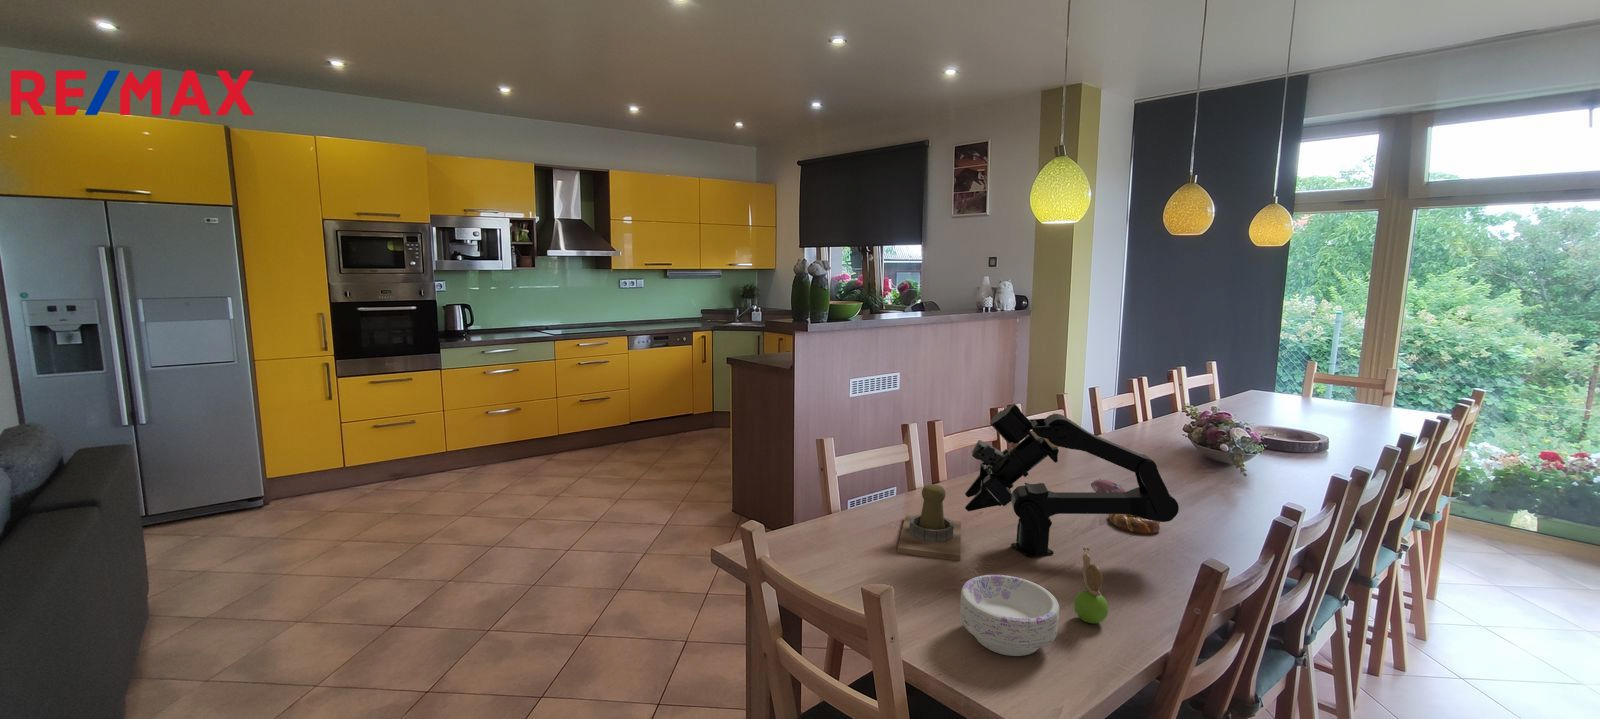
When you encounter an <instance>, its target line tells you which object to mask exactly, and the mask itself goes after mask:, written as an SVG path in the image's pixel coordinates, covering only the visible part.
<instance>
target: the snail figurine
mask: <svg viewBox="0 0 1600 719" xmlns="http://www.w3.org/2000/svg"><path fill="white" fill-rule="evenodd" d="M1090 550H1091V549H1090V547H1083V548H1082V551H1083V552H1085V551H1087V552H1089V551H1090ZM1091 560H1092V558H1091V556H1090V555H1089V553H1083V555H1082V561H1083V563H1082V564H1083V565H1082V574H1083V581H1084V584H1085V587H1086V590H1082V591H1081V592H1079V593H1078V594H1077V595H1076V596H1075V599H1074V602H1073V606H1074V611H1075V613H1076V615H1077V617H1079V618H1080V620H1082V621H1083V622H1084V623H1085V622H1086V623H1088V624H1095V625H1096V624H1099V623H1101V622H1103V621H1105V619H1106V618H1107V617H1108V614H1109V605H1108V601H1107V600H1106V598H1105V597H1104V596H1103V595H1102V593H1101V592H1100V589H1101V588H1102V585H1103V573H1102V570H1101V568H1100V566H1098V565H1097V564H1095V563H1091Z"/></svg>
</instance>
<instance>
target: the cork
mask: <svg viewBox="0 0 1600 719" xmlns="http://www.w3.org/2000/svg"><path fill="white" fill-rule="evenodd" d="M946 494H947V492H946V490H945V488H944V486H941V485H938V484H932V483H931V484H926V485H925V486H923V487H922V490H921V497H922V499H923V503H922V507H921V514H920V515H921V518H920V523H919V527H922V528H925V529H932V530H940V529H945V527H944V518H945V517H944V516H945V515H944V505H943V504H944V503H943V502H944V500H945V498H946Z"/></svg>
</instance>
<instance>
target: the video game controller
mask: <svg viewBox="0 0 1600 719" xmlns="http://www.w3.org/2000/svg"><path fill="white" fill-rule="evenodd" d="M1090 487H1091V489H1092V490H1093V491H1094V492H1127V491H1126V490H1125V489H1124V488H1123V487H1122V485H1120V484H1117V483H1115V482H1114V481H1113V480H1110V479H1102V478H1098V479H1095V480H1093V481H1092V482H1091V483H1090Z"/></svg>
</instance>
